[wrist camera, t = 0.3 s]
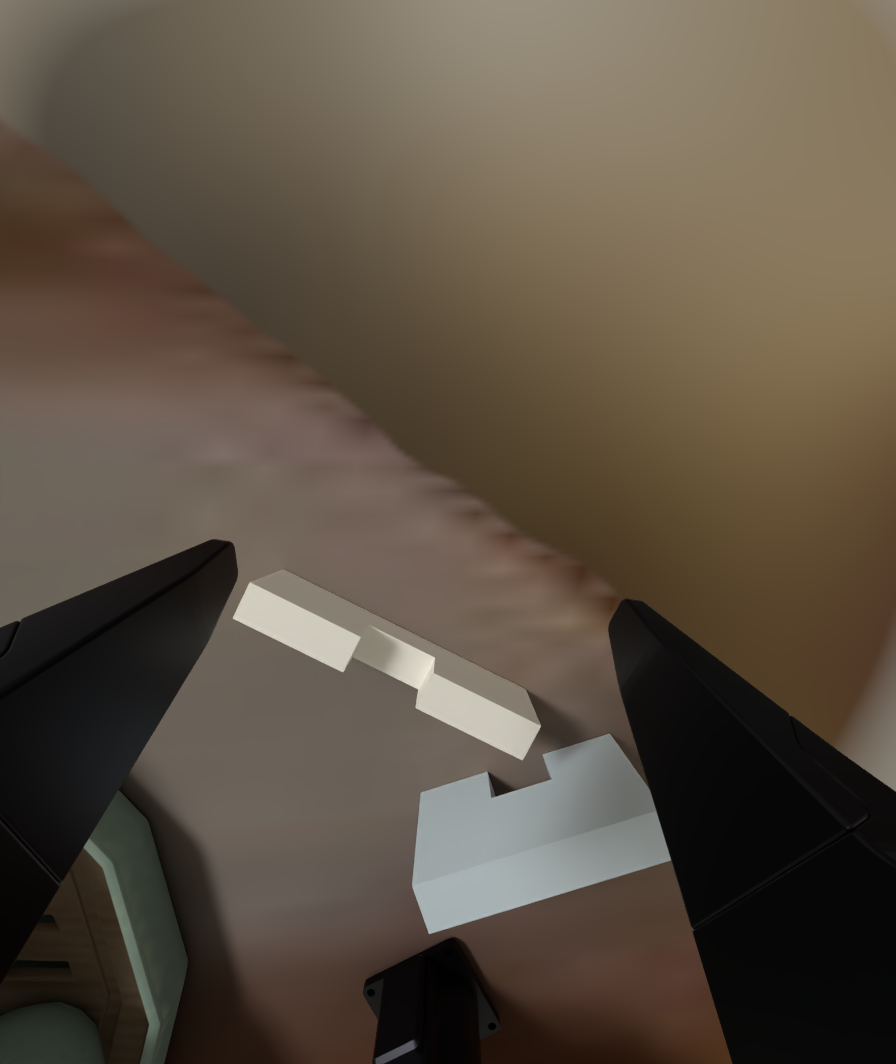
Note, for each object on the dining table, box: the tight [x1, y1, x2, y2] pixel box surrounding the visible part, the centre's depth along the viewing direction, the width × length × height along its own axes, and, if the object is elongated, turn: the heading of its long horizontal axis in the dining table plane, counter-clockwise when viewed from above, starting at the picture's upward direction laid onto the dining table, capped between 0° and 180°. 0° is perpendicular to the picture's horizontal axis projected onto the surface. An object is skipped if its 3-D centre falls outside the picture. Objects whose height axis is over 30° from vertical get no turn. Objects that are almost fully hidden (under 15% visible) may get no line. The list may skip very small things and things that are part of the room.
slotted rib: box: [233, 569, 541, 760], centre depth 22 cm, size 16×2×4 cm, turn 63°
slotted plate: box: [412, 733, 671, 934], centre depth 21 cm, size 12×2×6 cm, turn 108°
